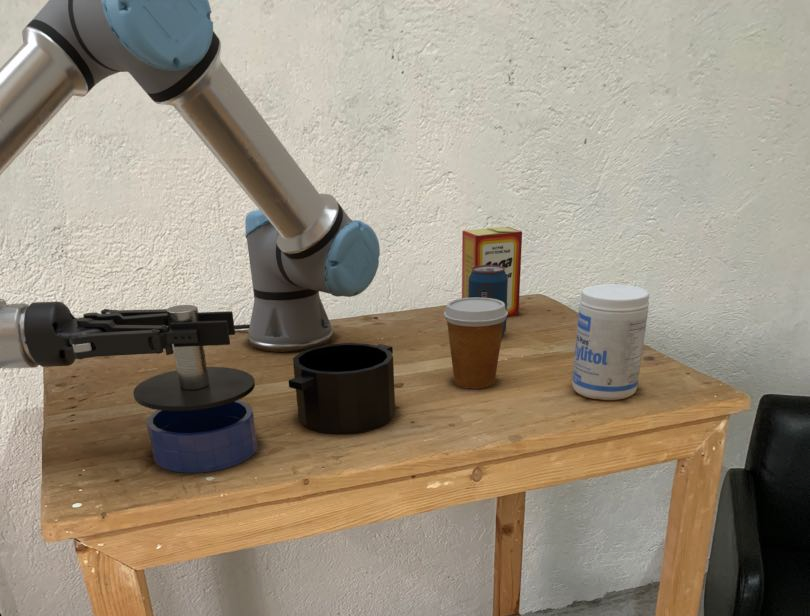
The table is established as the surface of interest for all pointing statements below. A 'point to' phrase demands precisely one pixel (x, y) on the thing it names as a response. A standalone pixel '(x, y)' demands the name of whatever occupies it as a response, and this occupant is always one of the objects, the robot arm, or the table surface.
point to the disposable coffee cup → (475, 339)
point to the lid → (192, 377)
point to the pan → (202, 437)
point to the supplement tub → (610, 341)
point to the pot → (344, 387)
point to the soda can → (489, 284)
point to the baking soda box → (494, 258)
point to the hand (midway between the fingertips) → (230, 327)
